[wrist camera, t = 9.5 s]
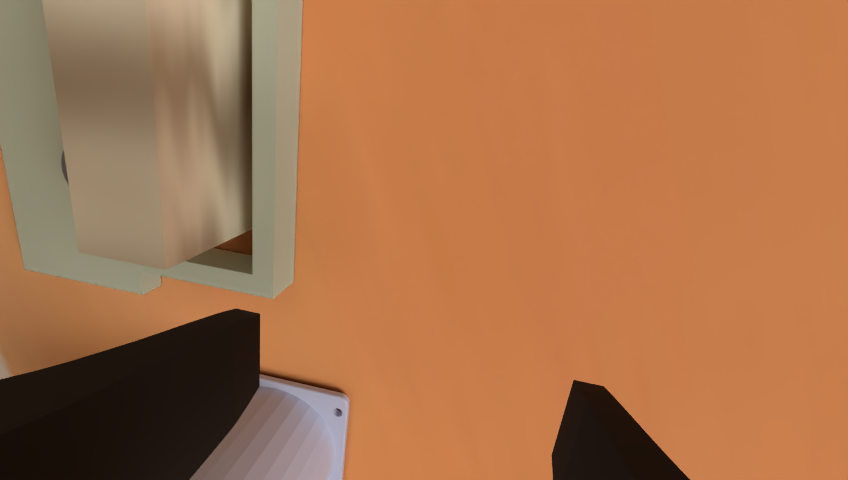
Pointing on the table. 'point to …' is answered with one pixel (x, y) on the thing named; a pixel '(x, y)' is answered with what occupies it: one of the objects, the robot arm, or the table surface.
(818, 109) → the table surface
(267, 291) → the sage cabinet frame
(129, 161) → the birch door
